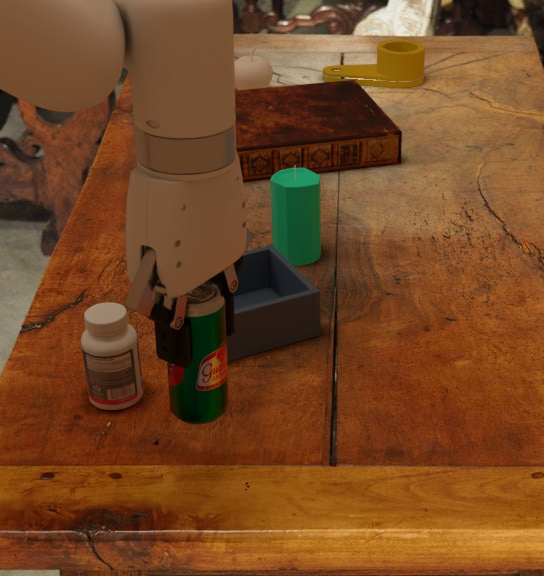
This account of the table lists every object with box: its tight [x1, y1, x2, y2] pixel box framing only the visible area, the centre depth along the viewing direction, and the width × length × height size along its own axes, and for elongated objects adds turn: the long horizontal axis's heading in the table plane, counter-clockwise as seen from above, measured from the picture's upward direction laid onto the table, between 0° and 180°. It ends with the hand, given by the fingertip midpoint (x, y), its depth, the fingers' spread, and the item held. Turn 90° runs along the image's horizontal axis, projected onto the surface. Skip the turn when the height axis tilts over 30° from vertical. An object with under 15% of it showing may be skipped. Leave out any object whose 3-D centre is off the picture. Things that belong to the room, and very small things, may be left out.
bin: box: [227, 244, 322, 362], centre depth 118 cm, size 12×12×6 cm
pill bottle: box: [80, 302, 144, 411], centre depth 104 cm, size 5×5×10 cm
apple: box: [234, 47, 274, 90], centre depth 182 cm, size 7×7×8 cm
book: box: [235, 80, 403, 182], centre depth 163 cm, size 30×24×5 cm
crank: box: [322, 39, 426, 89], centre depth 190 cm, size 18×8×6 cm, turn 91°
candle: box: [269, 165, 322, 267], centre depth 130 cm, size 6×6×12 cm
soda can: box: [163, 280, 230, 425], centre depth 90 cm, size 5×5×12 cm
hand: (196, 344), depth 90 cm, fingers closed on soda can, 5 cm apart
